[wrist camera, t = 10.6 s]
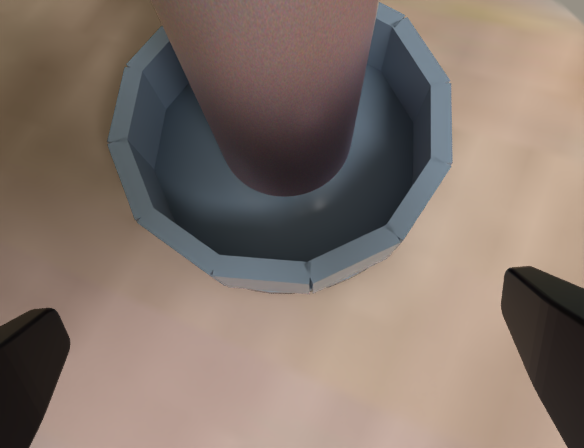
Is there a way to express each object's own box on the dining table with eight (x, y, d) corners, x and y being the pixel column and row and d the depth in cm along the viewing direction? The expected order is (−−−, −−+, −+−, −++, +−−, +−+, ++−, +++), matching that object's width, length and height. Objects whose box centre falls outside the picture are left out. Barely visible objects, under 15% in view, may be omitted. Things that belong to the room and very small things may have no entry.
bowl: (322, 356, 18) (325, 360, 14) (93, 189, 21) (43, 154, 17) (476, 121, 21) (513, 70, 17) (256, 1, 23) (246, -67, 19)
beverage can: (221, 94, 21) (12, -489, 6) (341, 81, 20) (413, -544, 6) (227, 208, 19) (-44, -229, 4) (358, 194, 19) (510, -297, 4)
